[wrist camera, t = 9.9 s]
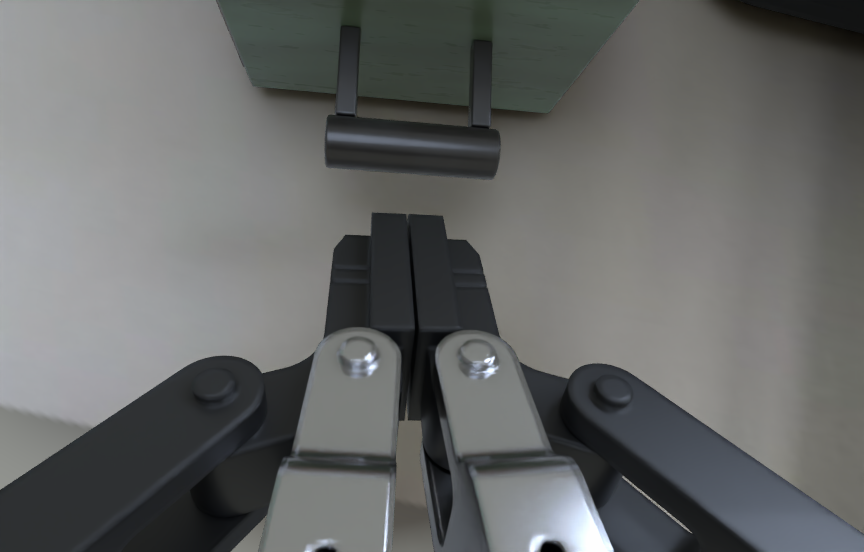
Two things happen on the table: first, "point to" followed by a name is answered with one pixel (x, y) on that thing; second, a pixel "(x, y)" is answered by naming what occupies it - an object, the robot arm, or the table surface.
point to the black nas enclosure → (820, 11)
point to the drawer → (422, 68)
